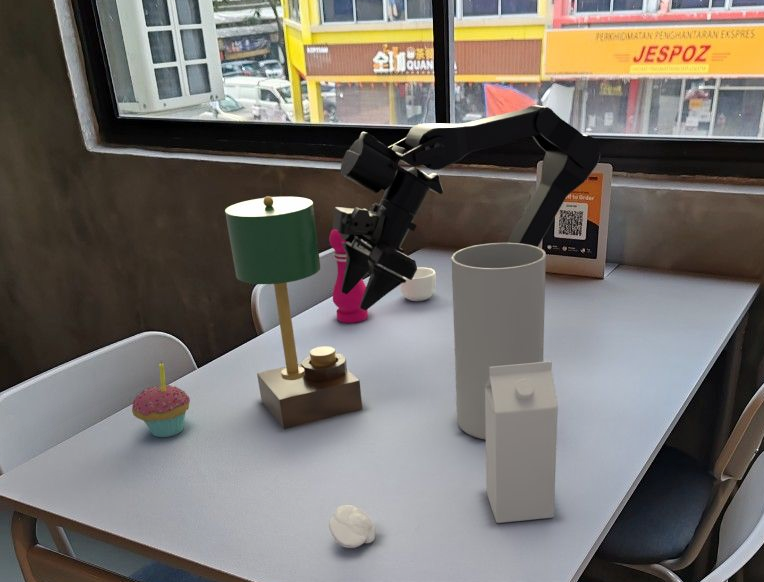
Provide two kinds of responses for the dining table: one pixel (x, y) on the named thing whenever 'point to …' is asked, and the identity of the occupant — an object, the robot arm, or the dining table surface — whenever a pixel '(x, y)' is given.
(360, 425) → the dining table surface
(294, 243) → the desk lamp
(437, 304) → the dining table surface
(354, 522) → the dumpling
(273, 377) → the lamp base
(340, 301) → the pepper mill
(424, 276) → the teacup
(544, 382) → the milk carton
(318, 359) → the button
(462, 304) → the cylinder vase
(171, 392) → the cupcake
